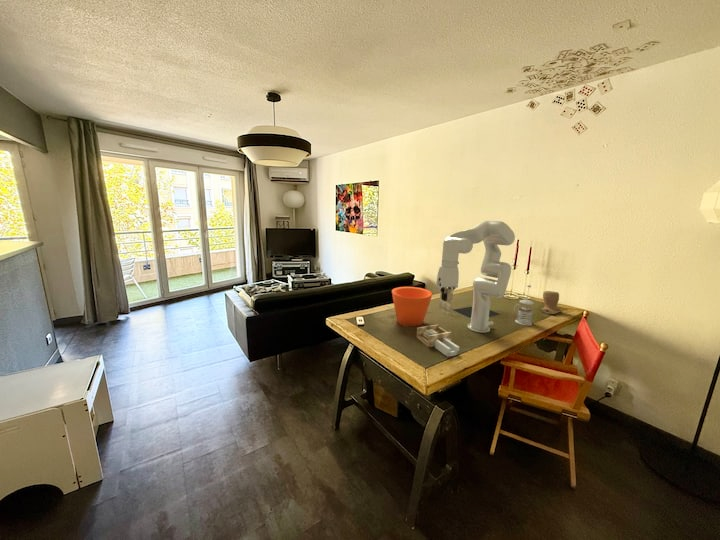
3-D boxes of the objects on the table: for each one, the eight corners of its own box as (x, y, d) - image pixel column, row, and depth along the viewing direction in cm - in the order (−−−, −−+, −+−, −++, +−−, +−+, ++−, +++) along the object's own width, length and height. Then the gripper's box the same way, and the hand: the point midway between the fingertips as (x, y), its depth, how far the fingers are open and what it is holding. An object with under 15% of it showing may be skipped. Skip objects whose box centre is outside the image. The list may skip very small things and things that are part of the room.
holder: (444, 346, 140) (445, 337, 139) (458, 356, 131) (459, 346, 130) (433, 348, 138) (434, 339, 137) (447, 358, 128) (448, 349, 127)
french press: (535, 326, 168) (541, 287, 163) (514, 324, 171) (520, 286, 166) (528, 320, 178) (534, 283, 173) (509, 318, 180) (514, 282, 175)
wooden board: (442, 309, 140) (444, 286, 137) (451, 313, 133) (453, 290, 131) (439, 309, 139) (441, 287, 137) (447, 314, 133) (450, 290, 130)
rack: (437, 335, 153) (438, 324, 151) (450, 344, 143) (451, 332, 141) (416, 339, 147) (417, 327, 146) (428, 348, 137) (429, 336, 136)
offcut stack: (430, 337, 148) (430, 328, 147) (437, 342, 142) (438, 333, 141) (422, 338, 146) (423, 329, 145) (429, 344, 140) (430, 334, 139)
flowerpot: (409, 312, 189) (411, 284, 184) (438, 324, 169) (441, 294, 164) (382, 319, 174) (383, 290, 170) (410, 333, 154) (412, 301, 150)
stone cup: (544, 307, 204) (547, 288, 201) (563, 312, 194) (566, 292, 191) (535, 311, 195) (538, 291, 192) (554, 316, 186) (557, 295, 183)
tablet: (473, 319, 176) (451, 309, 194) (473, 320, 176) (451, 310, 194) (501, 314, 187) (478, 305, 205) (501, 315, 187) (478, 306, 205)
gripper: (457, 262, 138) (453, 296, 141) (431, 263, 132) (428, 299, 136) (467, 264, 131) (464, 301, 134) (440, 266, 125) (437, 303, 129)
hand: (446, 299), depth 135 cm, fingers closed on wooden board, 2 cm apart
